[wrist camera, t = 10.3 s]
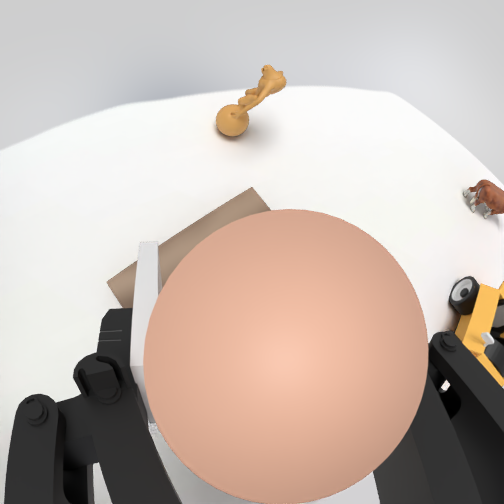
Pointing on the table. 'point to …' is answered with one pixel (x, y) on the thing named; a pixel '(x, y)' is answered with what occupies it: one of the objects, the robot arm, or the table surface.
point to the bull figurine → (487, 197)
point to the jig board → (188, 242)
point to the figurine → (249, 102)
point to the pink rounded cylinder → (285, 357)
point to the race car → (481, 323)
